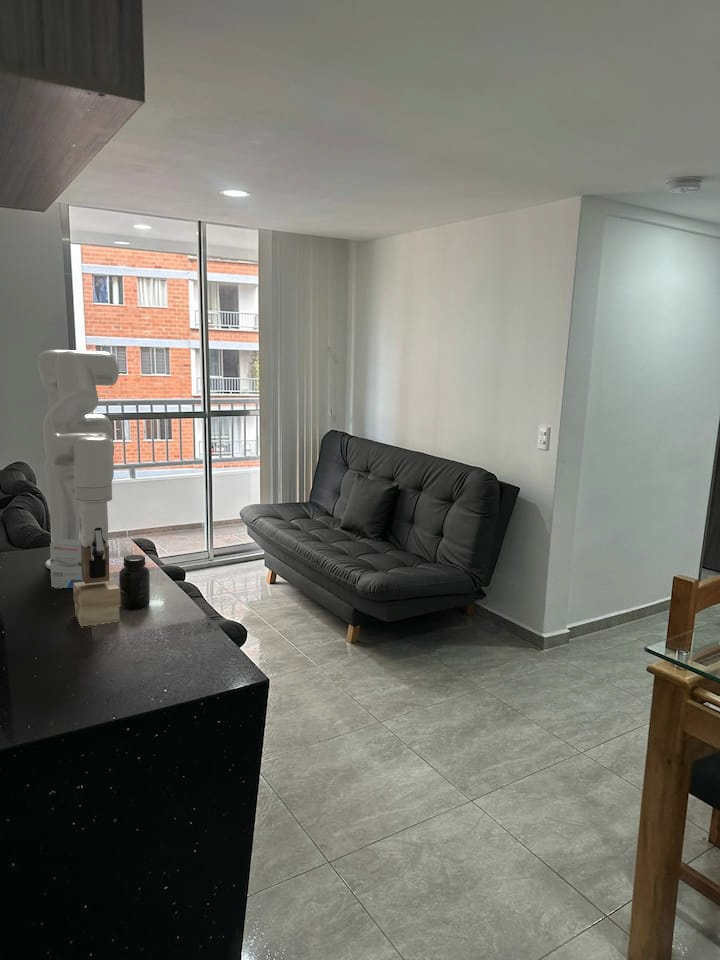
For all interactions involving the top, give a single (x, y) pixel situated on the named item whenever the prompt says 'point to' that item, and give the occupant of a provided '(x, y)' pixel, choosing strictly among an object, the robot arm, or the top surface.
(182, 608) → the top surface
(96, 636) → the top surface
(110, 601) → the upper maple slab
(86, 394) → the robot arm
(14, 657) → the top surface
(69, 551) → the ink box
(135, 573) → the supplement bottle
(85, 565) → the walnut block
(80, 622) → the lower maple slab
